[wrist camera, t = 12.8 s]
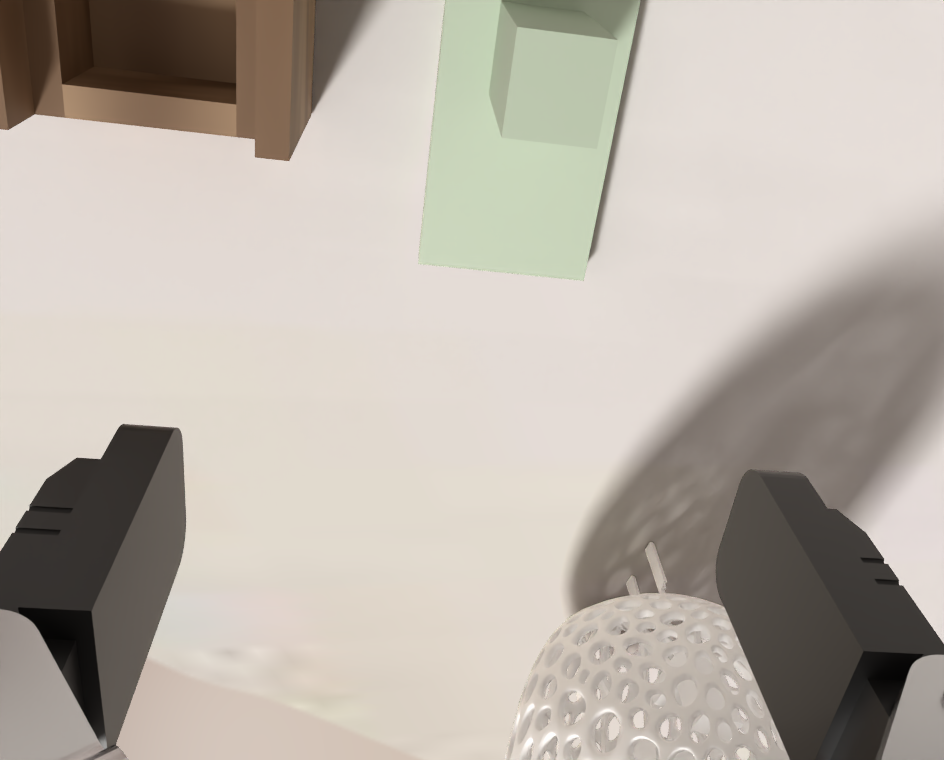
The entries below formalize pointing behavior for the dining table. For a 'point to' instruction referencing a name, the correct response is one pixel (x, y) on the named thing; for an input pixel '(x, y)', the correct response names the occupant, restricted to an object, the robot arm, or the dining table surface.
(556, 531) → the dining table surface
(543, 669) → the decorative heart
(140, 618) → the robot arm
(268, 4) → the box
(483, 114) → the lid
